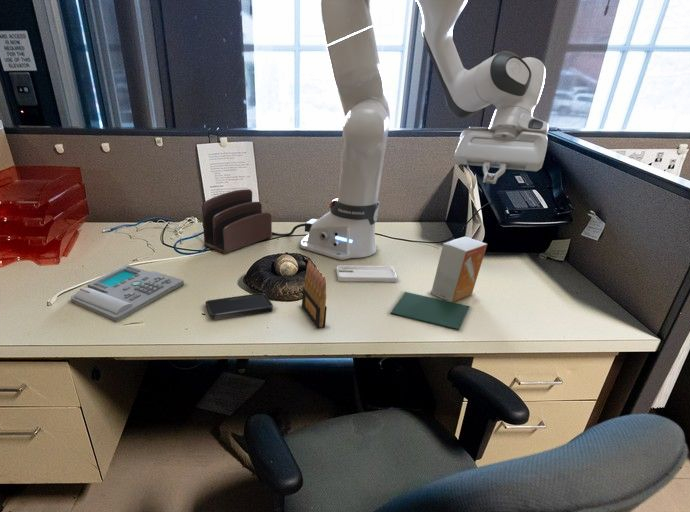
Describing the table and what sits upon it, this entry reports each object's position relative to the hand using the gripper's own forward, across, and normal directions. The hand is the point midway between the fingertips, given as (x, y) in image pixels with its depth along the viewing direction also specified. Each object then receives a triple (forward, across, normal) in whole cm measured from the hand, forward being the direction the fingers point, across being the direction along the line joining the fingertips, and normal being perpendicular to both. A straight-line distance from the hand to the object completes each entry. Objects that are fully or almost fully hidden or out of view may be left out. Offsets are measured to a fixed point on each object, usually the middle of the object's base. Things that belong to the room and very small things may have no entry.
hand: (489, 182), depth 116 cm
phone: (+51, -40, -26) cm, 70 cm away
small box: (+30, +1, 0) cm, 30 cm away
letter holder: (+27, -64, +2) cm, 70 cm away
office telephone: (+56, -70, -32) cm, 95 cm away
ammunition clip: (+47, -24, -22) cm, 57 cm away
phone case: (+30, -21, -1) cm, 37 cm away
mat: (+37, -2, -9) cm, 38 cm away
